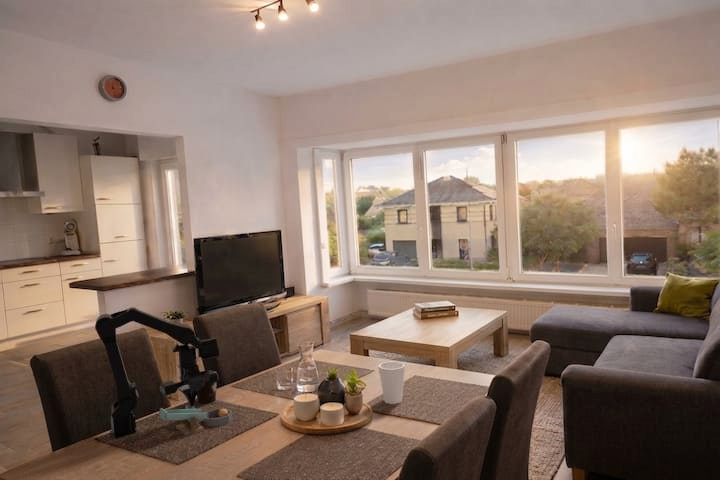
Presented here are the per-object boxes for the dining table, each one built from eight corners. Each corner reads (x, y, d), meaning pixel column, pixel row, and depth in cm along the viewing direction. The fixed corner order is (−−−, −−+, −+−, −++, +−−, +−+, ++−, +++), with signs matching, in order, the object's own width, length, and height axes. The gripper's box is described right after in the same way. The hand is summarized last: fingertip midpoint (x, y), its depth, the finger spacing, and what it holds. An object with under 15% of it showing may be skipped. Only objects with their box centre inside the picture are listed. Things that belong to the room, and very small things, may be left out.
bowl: (211, 428, 174) (210, 421, 174) (200, 420, 181) (200, 413, 181) (235, 420, 180) (235, 413, 180) (224, 413, 187) (224, 406, 187)
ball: (223, 421, 180) (219, 413, 179) (219, 418, 182) (215, 411, 182) (231, 415, 182) (227, 408, 181) (226, 413, 184) (223, 405, 183)
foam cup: (406, 405, 186) (405, 369, 185) (380, 406, 186) (378, 370, 185) (405, 395, 195) (403, 360, 194) (380, 396, 195) (378, 361, 194)
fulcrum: (163, 443, 165) (162, 427, 164) (154, 435, 171) (153, 419, 171) (203, 430, 173) (202, 415, 173) (193, 422, 180) (192, 408, 179)
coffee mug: (204, 406, 194) (202, 380, 193) (190, 402, 199) (188, 376, 198) (229, 396, 203) (228, 371, 202) (215, 392, 208) (213, 367, 207)
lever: (164, 420, 166) (165, 412, 167) (150, 409, 177) (151, 401, 177) (207, 419, 175) (208, 411, 175) (191, 408, 186) (192, 400, 186)
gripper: (169, 374, 170) (173, 421, 171) (223, 360, 182) (227, 404, 183) (157, 366, 179) (161, 411, 180) (210, 354, 190) (213, 396, 192)
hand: (191, 406), depth 183 cm, fingers closed
